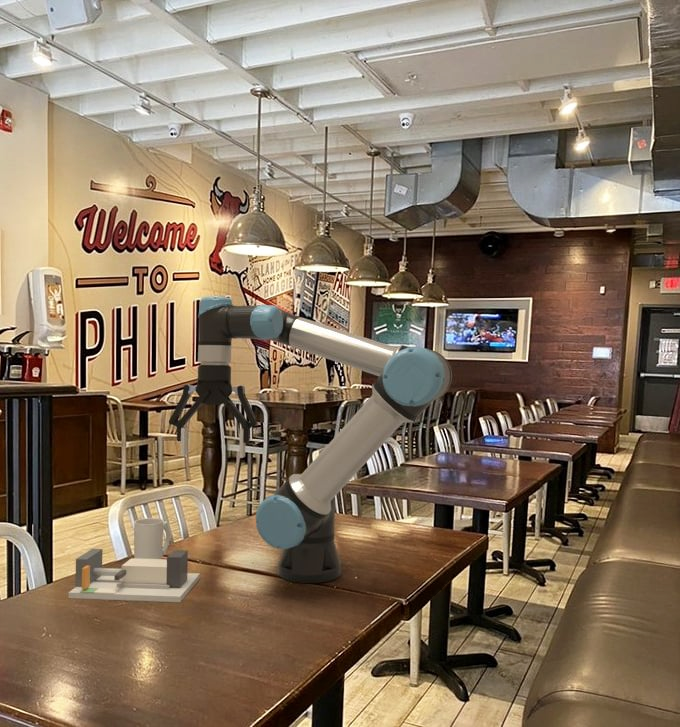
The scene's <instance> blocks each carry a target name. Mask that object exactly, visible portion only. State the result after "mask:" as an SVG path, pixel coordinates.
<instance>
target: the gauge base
mask: <svg viewBox="0 0 680 727" xmlns="http://www.w3.org/2000/svg"><path fill="white" fill-rule="evenodd" d="M85 566H90V586H89V587H88V588H87V589H82V568H84V567H85ZM121 570H122V568H108V567H107V568H105V567H103V548H91V549H90V550H87V551H86V552H85V553H83V554H82V555H80V556H78V557H77V558H76V559H75V584H74V585H75V587H74V588H72V589H71V590H70V591H68V599H79V600H80V599H81V600H82V599H84V600H106V601H108V600H110V601H111V600H112V601H115V600H116V601H133V602H136V601H137V602H158V603H159V602H162V603H163V602H164V603H181V602H182V601H183V600H184V598H185V597H186V596H187V595H188V593H189V592H191V590H192V589H193V588H194V586H196V584H197V583H198V582H199V580H200V579H201V573H197V572H195V573H193V572H187V580H186V581H185V582H184V583H183V584H182V585H181V586H180V587H169V586H170V585H158V584H130V583H121V579H120V580H114V576H115V575H116V574H117V573H118V572H119V571H121Z"/></svg>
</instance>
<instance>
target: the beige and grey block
mask: <svg viewBox="0 0 680 727" xmlns="http://www.w3.org/2000/svg"><path fill="white" fill-rule="evenodd" d="M188 552H189V550H188V549H186V550H184V549H183V550H182V549H174V550H173V551H172V552H171V553H169V554H168V556H166V559H163V558H162V559H138V558H134V557H133V558H129V560H126V562H124V563H123V564H121V569H122V570H121V571H119V572H118V573H117V574H116V575H115V576H114V580H120V579H121V583H130V584H158V585H170V586H169V587H180V586H181V585H182V584H183V583H184V582H185V581H186V580H187V573H188V568H189V567H188V565H189V564H188V563H189V562H188V560H189V556H188V555H189V553H188Z"/></svg>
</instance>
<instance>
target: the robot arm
mask: <svg viewBox="0 0 680 727" xmlns="http://www.w3.org/2000/svg"><path fill="white" fill-rule="evenodd" d="M198 306H199V307H198V308H199V309H198V315H197V318H198V348H197V350H198V352H197V362H198V363H200V364H199V365H198V366H197V384H196V386H195V385H192V384H185V385H183V387H182V388H183V389H182V395H181V397H180V398H179V400H178V402H177V405H176V406H175V408H174V410H173V412H172V415H171V416H170V418H169V420H168V423H169V425H173V426H175V428H176V440H177V442H180V457H186V456H188V442H189V441H188V440H189V439H188V435H189V433H188V431H189V428H188V426H185V425H186V424H187V423H188V422H189V421H190V420H191V419H192V417H193V416H195V414H196V413H197V412H198V410H199V409H200V408H201V407H202V406H203V405H215V406H220V405H224V406H225V407H226V408H227V409H228V410H229V412H230V413H231V414H232V415H233V416H234V418H235V419H236V420H237V422H238V423H239V424H240V426H242V428H240V429H239V450H238V452H239V459H243V458H244V457H246V443H247V444H248V443H250V441H251V438H250V437H251V428H253V427H255V426H256V427H257V425H259V421H258V419H257V417H256V415H255V412H254V411H253V408H252V406H251V405H250V402H249V400H248V398H247V396H246V390H245V388H246V387H245V386H244V385H237V386H233V385H232V366H231V365H229V364H230V363H232V340H233V339H242V340H243V339H248V340H249V339H250V340H253V339H254V340H262V341H272V342H275V343H280V344H282V345H285V346H288V347H292V348H295V349H298V350H301V351H303V352H306V353H309V354H312V355H316V356H318V357H320V358H324V359H327V360H330V361H333V362H336V363H340V364H342V365H344V366H347V367H351V368H354V369H356V370H360V371H361V372H365V373H368V374H371V375H374V376H377V379H376V380H375V381H374V382H373V383H372V385H371V387H372V388H371V389H372V390H371V391H372V392H371V393H372V394H371V396H370V397H369V398H368V400H367V401H366V402H365V403H364V404H363V405H362V406H361V407H360V408H359V409H358V411H357V412H356V413H355V414H354V415H353V416H352V417H351V419H350V420H349V421H348V422H347V423H346V424H345V425H344V426H343V427H342V429H340V431H338V433H337V434H336V435H335V436H334V437H333V439H331V441H330V442H329V443H328V444H327V445H326V446H325V448H323V449H322V451H320V453H319V454H318V455H317V456H316V458H314V460H313V461H312V462H311V463H310V464H309V465H308V467H307V468H306V469H304V471H303V472H302V473H294V474H291V475H290V476H289V477H288V478H287V480H286V481H285V482H283V484H282V485H281V486H280V487H279V488H278V489H277V491H275V492H274V493H273V495H269V496H267V497H266V498H264V500H263V501H262V502H261V503H260V504H259V506H258V507H257V510H256V513H255V524H256V529H257V532H258V534H259V535H260V537H261V539H262V540H263V541H264V543H266V544H267V545H268V546H270V547H273V548H275V549H279V550H282V552H281V554H280V559H279V561H278V568H277V570H278V571H277V575H278V576H279V577H280V578H281V579H283V580H285V581H287V582H288V581H289V582H293V583H301V584H318V583H319V584H320V583H325V582H326V583H327V582H330V581H331V582H332V581H333V580H336V579H338V578H339V577H340V576H341V575H342V563H341V559H340V556H339V553H338V550H337V547H336V543H335V523H336V522H335V521H336V520H335V517H336V515H335V514H336V513H335V512H336V496H337V495H338V493H340V492H341V490H342V489H343V488H344V487H345V486H346V485H347V484H348V483H349V482H350V481H351V479H352V478H353V477H355V475H356V474H357V473H358V472H359V471H360V469H361V468H363V467H364V465H365V464H367V462H368V461H369V460H370V459H371V458H372V456H374V454H375V453H376V452H377V451H378V450H379V449H380V448H381V447H382V446H383V445H384V444H385V443H386V441H387V440H389V438H390V437H391V436H392V435H393V434H394V433H395V432H396V431H397V430H398V429H399V428H400V427H401V425H402V424H404V423H414V422H415V421H416V420H417V419H418V418H419V417H420V415H422V413H423V412H424V411H425V410H426V409H427V408H428V407H429V406H430V405H431V404H432V403H433V402H434V401H436V400H439V399H440V398H442V397H443V396H445V394H446V393H447V392H448V391H449V389H450V387H451V384H452V379H453V373H452V366H451V365H450V363H449V362H448V360H447V359H446V357H445V356H444V355H442V354H441V353H439V352H438V351H436V350H433V349H429V348H425V347H422V346H407V345H404V344H401V345H399V346H397V347H395V346H393V345H389V344H387V343H383V342H380V341H377V340H373V339H371V338H367V337H364V336H362V335H357V334H355V333H351V332H349V331H346V330H343V329H339V328H335V327H333V326H329V325H327V324H323V323H320V322H317V321H314V320H311V319H309V318H308V319H307V318H304V317H301V316H298V315H295V314H292V313H291V312H288V311H284V310H280V308H279V307H278V306H277V305H273V304H272V305H270V304H269V305H267V304H259V305H255V304H254V305H233V300H232V298H230V297H226V296H204V297H202V298H201V299H200V301H199V305H198ZM194 392H196V394H197V396H198V398H197V399H196V400H195V401H194V403H193V404H192V405H191V406H190V407H189V409H188V410H187V411H186V412H185V413H184V414H183V416H181V415H182V413H183V411H184V410H185V407H186V405H187V404H188V401H189V400H190V397H191V395H193V394H194ZM232 393H234V395H235V396H237V397H238V400H239V402H240V404H241V406H242V408H243V410H244V413H245V415H246V417H247V418H246V417H245V416H244V414H242V412H241V411H240V410H239V409H238V407H237V406H236V405H235V403H234V401H233V400H232V399H231V398H230V396H231V394H232Z"/></svg>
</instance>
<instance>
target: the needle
mask: <svg viewBox="0 0 680 727" xmlns="http://www.w3.org/2000/svg"><path fill="white" fill-rule="evenodd" d="M89 586H90V566H85V567H84V568H82V589H87V588H88V587H89Z"/></svg>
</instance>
